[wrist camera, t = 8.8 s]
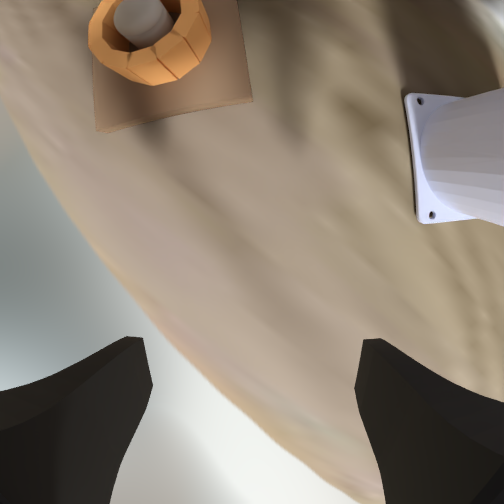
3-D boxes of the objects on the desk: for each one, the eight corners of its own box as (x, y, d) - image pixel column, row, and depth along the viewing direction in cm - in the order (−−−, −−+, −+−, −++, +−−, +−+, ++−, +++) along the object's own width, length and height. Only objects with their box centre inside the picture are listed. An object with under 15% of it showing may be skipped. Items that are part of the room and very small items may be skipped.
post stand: (233, -19, 14) (221, -77, 8) (252, 101, 16) (246, 67, 10) (103, 16, 15) (56, -21, 9) (107, 133, 17) (47, 123, 11)
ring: (205, -7, 13) (193, -39, 10) (216, 71, 14) (203, 48, 11) (116, 18, 13) (90, -5, 10) (119, 95, 15) (88, 82, 11)
